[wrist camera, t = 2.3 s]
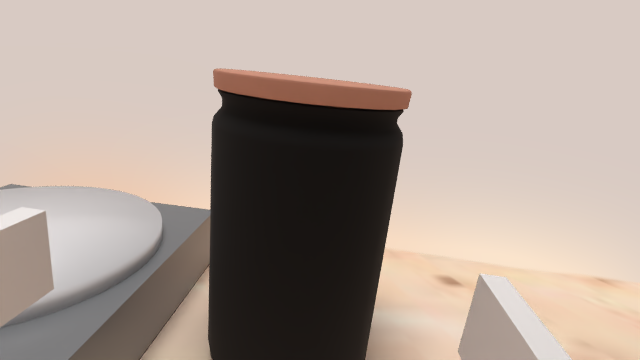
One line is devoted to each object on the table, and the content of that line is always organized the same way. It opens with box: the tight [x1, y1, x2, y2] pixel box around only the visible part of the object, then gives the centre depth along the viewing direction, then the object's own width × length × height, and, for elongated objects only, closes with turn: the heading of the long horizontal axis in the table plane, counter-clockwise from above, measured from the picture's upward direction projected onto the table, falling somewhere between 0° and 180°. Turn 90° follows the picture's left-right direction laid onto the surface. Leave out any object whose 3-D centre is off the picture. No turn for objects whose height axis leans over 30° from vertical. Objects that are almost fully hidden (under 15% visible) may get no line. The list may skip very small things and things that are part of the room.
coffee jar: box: [208, 69, 411, 360], centre depth 22 cm, size 11×11×18 cm
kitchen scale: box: [0, 184, 210, 360], centre depth 25 cm, size 20×21×6 cm
